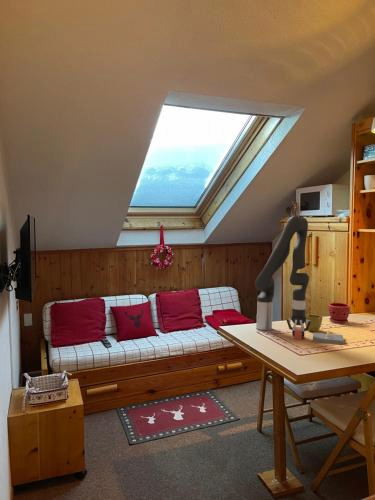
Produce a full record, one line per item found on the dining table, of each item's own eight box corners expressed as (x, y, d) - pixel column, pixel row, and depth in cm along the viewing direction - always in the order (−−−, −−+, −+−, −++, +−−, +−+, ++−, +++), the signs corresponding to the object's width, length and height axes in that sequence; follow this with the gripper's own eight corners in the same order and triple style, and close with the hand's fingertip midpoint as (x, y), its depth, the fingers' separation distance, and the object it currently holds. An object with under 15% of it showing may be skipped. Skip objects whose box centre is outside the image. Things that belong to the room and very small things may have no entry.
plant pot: (324, 320, 270) (324, 303, 269) (340, 319, 274) (340, 302, 273) (336, 325, 258) (337, 306, 257) (353, 323, 262) (354, 305, 261)
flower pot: (308, 327, 251) (308, 313, 251) (322, 329, 246) (322, 315, 246) (303, 330, 244) (304, 316, 243) (318, 333, 239) (318, 318, 238)
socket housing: (294, 339, 226) (294, 330, 226) (295, 335, 234) (295, 326, 234) (301, 339, 225) (301, 330, 225) (302, 335, 233) (302, 327, 232)
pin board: (312, 341, 221) (313, 332, 221) (313, 335, 233) (313, 327, 232) (343, 344, 216) (344, 335, 216) (342, 338, 228) (342, 329, 228)
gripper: (285, 308, 227) (285, 337, 228) (311, 309, 223) (311, 340, 224) (286, 305, 234) (286, 334, 235) (311, 307, 230) (311, 336, 231)
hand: (298, 337), depth 229 cm, fingers closed on socket housing, 4 cm apart
